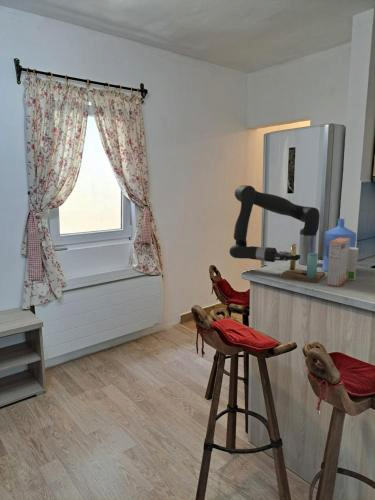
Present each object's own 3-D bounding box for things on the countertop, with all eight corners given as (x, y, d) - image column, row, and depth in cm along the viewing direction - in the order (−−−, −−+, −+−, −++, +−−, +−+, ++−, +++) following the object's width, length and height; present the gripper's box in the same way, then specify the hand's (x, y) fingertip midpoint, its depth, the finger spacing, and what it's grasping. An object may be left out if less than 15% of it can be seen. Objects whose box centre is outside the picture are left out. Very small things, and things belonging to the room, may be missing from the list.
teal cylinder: (307, 275, 178) (309, 252, 176) (317, 276, 176) (318, 253, 174) (305, 277, 174) (306, 254, 172) (314, 278, 172) (316, 255, 170)
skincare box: (336, 278, 179) (339, 247, 176) (338, 275, 185) (340, 245, 182) (355, 280, 176) (358, 249, 173) (356, 277, 181) (358, 247, 178)
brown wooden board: (289, 271, 194) (290, 268, 193) (324, 276, 184) (324, 272, 183) (280, 278, 181) (280, 273, 181) (317, 283, 171) (317, 278, 171)
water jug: (347, 267, 202) (351, 217, 197) (357, 274, 187) (362, 220, 182) (319, 267, 204) (322, 217, 199) (326, 273, 189) (330, 220, 184)
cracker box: (335, 278, 180) (338, 237, 176) (348, 280, 176) (351, 238, 172) (326, 284, 169) (329, 240, 165) (339, 287, 165) (342, 242, 161)
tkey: (291, 270, 187) (292, 243, 184) (311, 272, 181) (313, 245, 178) (288, 272, 183) (289, 245, 180) (309, 274, 177) (310, 246, 174)
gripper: (261, 249, 184) (295, 252, 175) (271, 245, 195) (303, 248, 186) (260, 263, 185) (294, 267, 176) (270, 258, 197) (302, 262, 187)
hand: (298, 257), depth 181 cm, fingers closed on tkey, 2 cm apart
